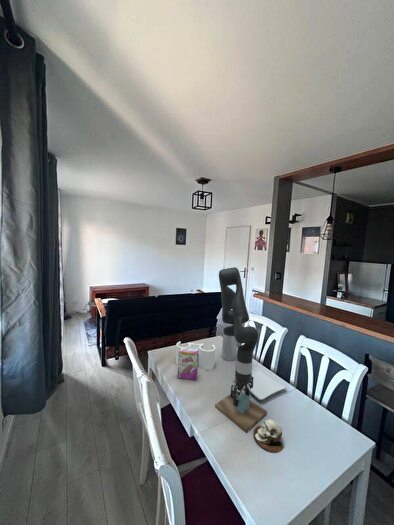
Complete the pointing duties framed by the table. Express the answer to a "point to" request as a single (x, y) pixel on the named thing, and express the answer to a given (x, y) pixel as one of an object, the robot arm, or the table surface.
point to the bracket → (200, 355)
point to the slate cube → (243, 403)
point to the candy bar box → (188, 363)
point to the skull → (269, 436)
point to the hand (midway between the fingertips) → (241, 401)
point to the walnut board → (241, 420)
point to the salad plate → (264, 384)
